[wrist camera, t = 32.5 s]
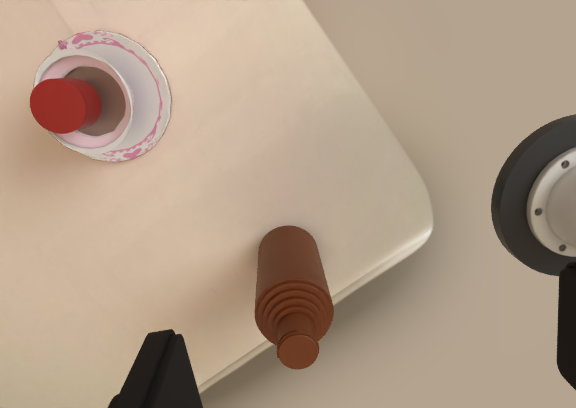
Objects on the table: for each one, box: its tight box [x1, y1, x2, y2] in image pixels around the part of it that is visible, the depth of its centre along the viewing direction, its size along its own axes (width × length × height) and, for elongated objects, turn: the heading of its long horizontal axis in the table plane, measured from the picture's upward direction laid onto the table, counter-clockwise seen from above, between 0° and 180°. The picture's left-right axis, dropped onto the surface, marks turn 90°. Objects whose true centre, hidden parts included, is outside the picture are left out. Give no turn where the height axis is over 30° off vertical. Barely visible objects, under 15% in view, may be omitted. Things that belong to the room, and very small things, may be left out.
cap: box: [30, 78, 101, 134], centre depth 33 cm, size 4×4×3 cm
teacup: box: [33, 30, 171, 162], centre depth 37 cm, size 12×12×6 cm
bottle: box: [255, 226, 334, 369], centre depth 38 cm, size 6×6×17 cm
